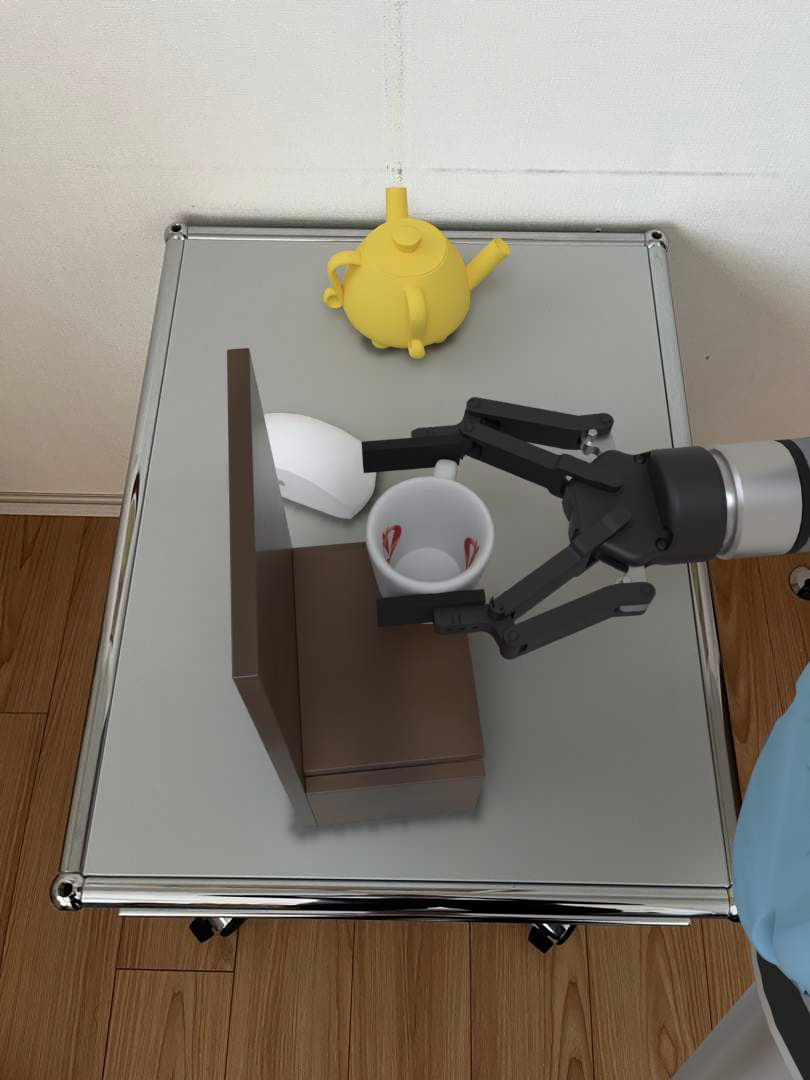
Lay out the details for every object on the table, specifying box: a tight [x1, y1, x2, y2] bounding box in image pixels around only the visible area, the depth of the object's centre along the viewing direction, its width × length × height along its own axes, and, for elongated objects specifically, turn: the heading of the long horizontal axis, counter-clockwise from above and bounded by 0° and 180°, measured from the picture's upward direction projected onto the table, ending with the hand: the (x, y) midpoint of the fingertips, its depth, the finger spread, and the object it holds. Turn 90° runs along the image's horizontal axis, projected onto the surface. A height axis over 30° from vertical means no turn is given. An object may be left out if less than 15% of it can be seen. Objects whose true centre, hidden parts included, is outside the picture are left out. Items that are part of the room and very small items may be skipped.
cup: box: [364, 459, 496, 624], centre depth 61 cm, size 11×8×8 cm
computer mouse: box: [264, 412, 377, 520], centre depth 83 cm, size 6×13×6 cm, turn 67°
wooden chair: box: [226, 347, 486, 829], centre depth 61 cm, size 13×18×34 cm
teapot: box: [322, 186, 511, 360], centre depth 90 cm, size 14×14×11 cm
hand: (369, 532), depth 59 cm, fingers closed on cup, 10 cm apart
